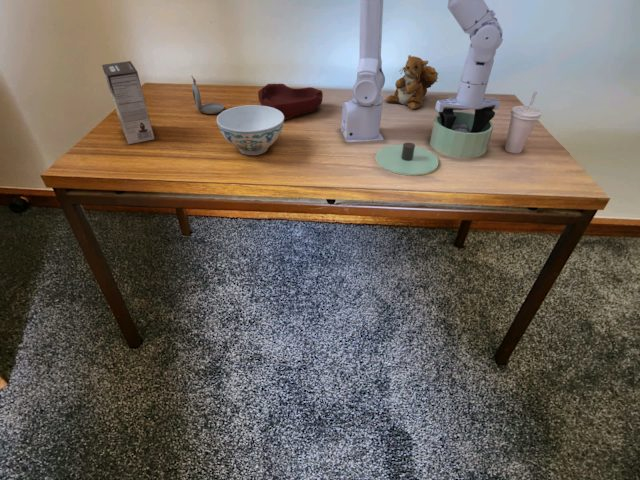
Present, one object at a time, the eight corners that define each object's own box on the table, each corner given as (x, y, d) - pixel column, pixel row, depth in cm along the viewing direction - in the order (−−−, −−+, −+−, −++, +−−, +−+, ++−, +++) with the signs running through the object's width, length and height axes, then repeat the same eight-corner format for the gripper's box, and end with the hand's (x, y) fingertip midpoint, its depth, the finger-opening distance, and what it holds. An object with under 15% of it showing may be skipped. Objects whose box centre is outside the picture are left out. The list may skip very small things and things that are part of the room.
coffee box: (121, 130, 100) (100, 63, 90) (147, 126, 103) (130, 60, 93) (128, 145, 94) (106, 75, 84) (156, 139, 97) (138, 70, 87)
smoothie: (514, 158, 93) (535, 98, 84) (493, 147, 97) (511, 88, 88) (532, 152, 95) (555, 93, 86) (511, 142, 99) (531, 84, 91)
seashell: (449, 140, 102) (458, 159, 94) (440, 124, 99) (448, 142, 91) (469, 128, 99) (479, 147, 92) (460, 111, 97) (470, 130, 89)
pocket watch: (229, 109, 113) (224, 73, 106) (207, 119, 107) (201, 81, 101) (208, 103, 116) (202, 67, 110) (186, 112, 110) (178, 75, 104)
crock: (442, 161, 91) (448, 135, 87) (421, 136, 101) (426, 112, 97) (495, 158, 92) (504, 132, 88) (470, 134, 103) (476, 110, 99)
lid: (385, 180, 84) (387, 161, 81) (368, 150, 94) (370, 133, 92) (447, 176, 86) (452, 158, 83) (424, 147, 96) (427, 130, 94)
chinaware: (268, 169, 86) (266, 135, 82) (208, 156, 90) (203, 124, 85) (295, 141, 98) (294, 110, 93) (241, 131, 101) (237, 101, 96)
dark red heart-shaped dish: (245, 118, 108) (243, 99, 105) (269, 98, 120) (268, 81, 117) (307, 127, 104) (306, 108, 101) (325, 106, 116) (326, 88, 113)
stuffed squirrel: (383, 102, 119) (388, 55, 111) (411, 92, 127) (419, 47, 118) (410, 112, 114) (418, 63, 105) (438, 100, 121) (447, 54, 113)
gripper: (495, 74, 91) (479, 130, 99) (435, 76, 89) (424, 133, 97) (512, 84, 85) (493, 143, 94) (448, 86, 83) (435, 146, 92)
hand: (459, 139), depth 95 cm, fingers open, 7 cm apart
